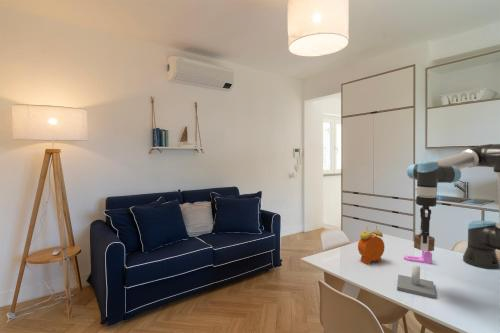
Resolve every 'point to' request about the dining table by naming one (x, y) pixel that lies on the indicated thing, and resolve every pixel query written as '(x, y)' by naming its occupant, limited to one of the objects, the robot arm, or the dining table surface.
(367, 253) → the alarm clock
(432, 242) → the collar
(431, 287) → the post
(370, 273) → the dining table surface
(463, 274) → the dining table surface
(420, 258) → the bracket
